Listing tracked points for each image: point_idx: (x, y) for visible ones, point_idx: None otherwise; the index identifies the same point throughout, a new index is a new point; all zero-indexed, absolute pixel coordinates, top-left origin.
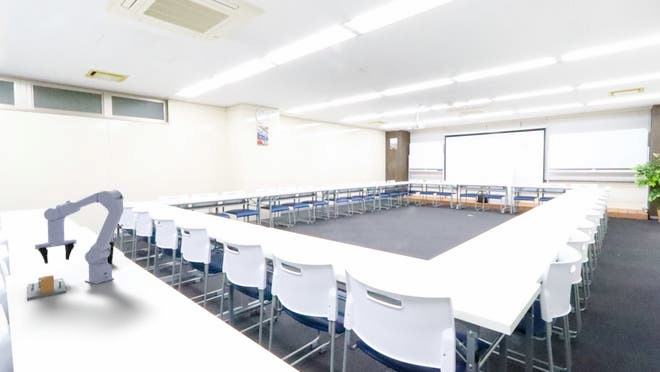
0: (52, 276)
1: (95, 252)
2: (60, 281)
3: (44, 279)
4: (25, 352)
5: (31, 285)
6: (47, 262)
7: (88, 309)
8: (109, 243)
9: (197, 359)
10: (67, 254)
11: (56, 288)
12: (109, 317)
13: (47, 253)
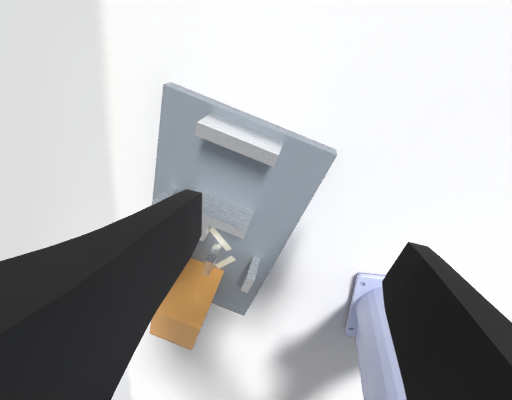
0: (192, 339)
1: None
2: (245, 291)
3: (162, 335)
4: (135, 396)
5: (174, 138)
6: (192, 246)
7: (225, 393)
8: None
9: None
10: (404, 364)
11: (231, 278)
12: None
13: (116, 384)
